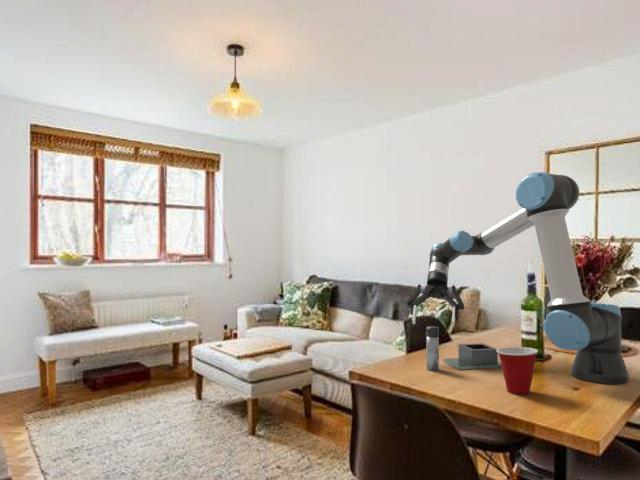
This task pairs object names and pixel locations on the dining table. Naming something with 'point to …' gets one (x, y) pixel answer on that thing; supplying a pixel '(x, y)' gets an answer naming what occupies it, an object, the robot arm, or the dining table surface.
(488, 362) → the block
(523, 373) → the plastic cup
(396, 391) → the dining table surface
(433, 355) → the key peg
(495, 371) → the dining table surface
